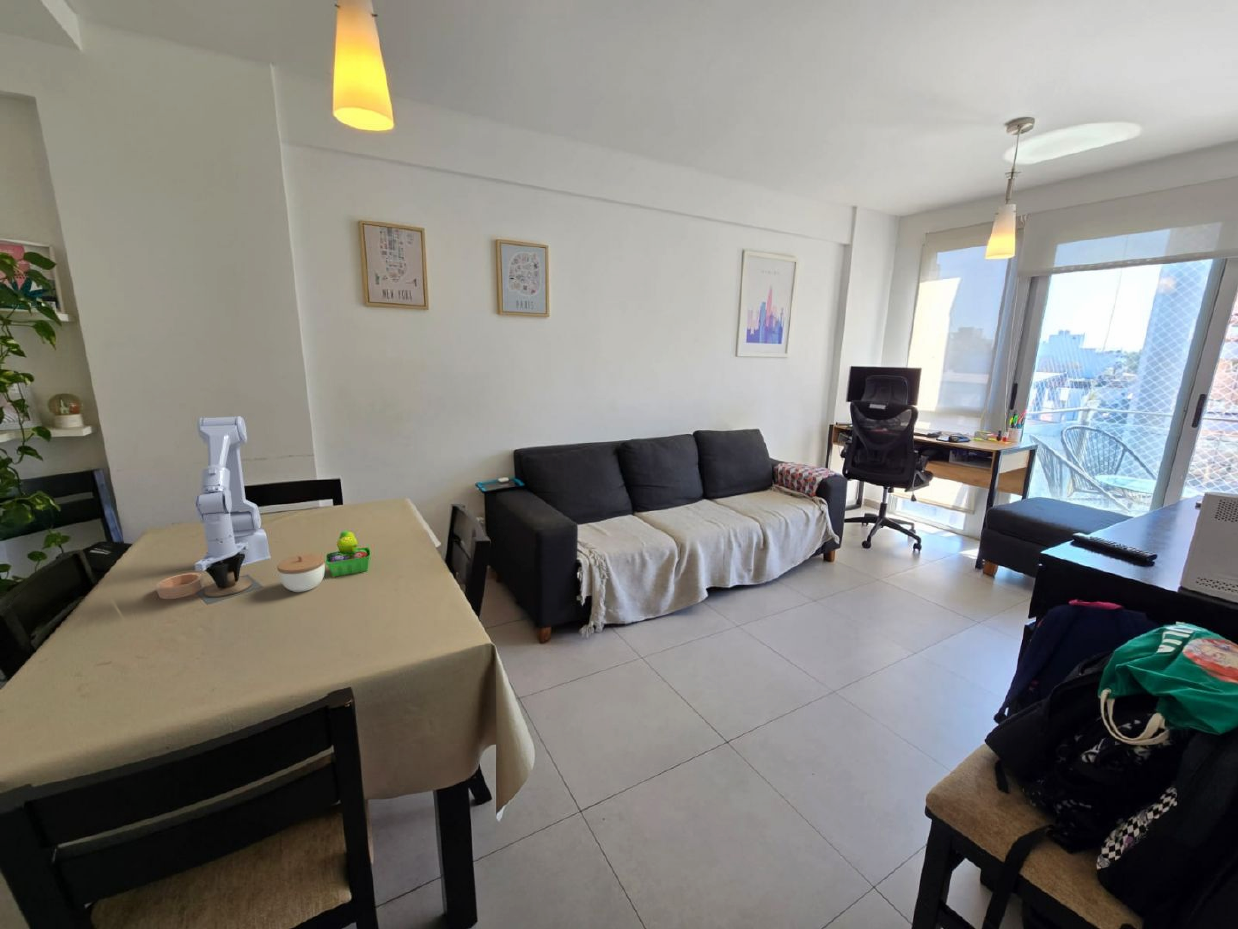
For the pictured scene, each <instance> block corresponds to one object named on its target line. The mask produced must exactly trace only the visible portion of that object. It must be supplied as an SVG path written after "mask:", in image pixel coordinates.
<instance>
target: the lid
mask: <svg viewBox="0 0 1238 929" xmlns="http://www.w3.org/2000/svg"><path fill="white" fill-rule="evenodd" d="M227 582H228V585H227V587H226V588H218V587H217V585H216V583H215V582H214V583H212V584H210V586H209V585H207V586H208V587H207V588H206V589H205V590H204V592H205V595H206V596H207V597H212V598H218V597H226V596H230V595H234V594H237V593H240V592H243V591H245V590H246V589H248V588H249V587H251V585H252V580H251V579H250V578H246V577H240V576H239V579H238V581H237V582H235V578H234V572H233V571H227Z"/></svg>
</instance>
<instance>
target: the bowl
mask: <svg viewBox="0 0 1238 929" xmlns="http://www.w3.org/2000/svg"><path fill="white" fill-rule="evenodd" d="M155 587H156V591H157V595H158V597H159V598H160V599H163V600H175V599H181V598H185V597H188V596H190V595H191V596H192V595H193V594H197V593H196V592H198V591H199V590H201V589H202V588H203V587H205V580H204V576H203V575H202V574H201V573H197V572H188V573H183V574H182V573H181V574H177V575H173V576H170V577H168V578H165V579H162V580H160V581H159V582H158V583H157V584H156V585H155Z"/></svg>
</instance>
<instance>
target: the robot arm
mask: <svg viewBox="0 0 1238 929" xmlns="http://www.w3.org/2000/svg"><path fill="white" fill-rule="evenodd" d="M196 427H197V432H198V435H199V438H201V440H202V441H203V443H204V444H206V445H207V467H205V468H204V469H202V472H201V473H202V474H201V484H200V491H199V492H200V493H199V494H200V495H197V496H196V497H195V502H194V503H195V510H196V513H197V515H198V518H199V522H200V523H202V525H203V530H204V536H205V542H206V547H207V551H206V552H205V554H206V555H205V556H204V557H202V558H201V559H200V560H199V561H197V562H195V563H194V570H195V571H196V572H197V571H198V572H206V573H207V574H208V575H209V576H210V577H211V578H212V580H213V581H214V583H216V585H217V587H218V588H226V587H227V585H228V582H227V571H233V572H234V578H235V582H237V581H238V579H239V577H240V571H241V568H242V567H243V566H245V565H250V564H253V563H257V562H260V561H264V560H267V559H271V558H272V556H271V554H270V548H269V541H268V537H267V533H266V531H265V530H264V528H261V526H262V519H261V514H260V511H259V506H258V505H257V504H256V503H254V502H251V501H250V500H248V499H246V492H245V490H246V489H245V482H244V476H243V475H244V474H243V467H242V458H241V446H242V445H245V444H247V442H248V435H247V428H246V423H245V420H244V418H243V417H242V416H240V415H238V416H223V417H222V416H221V417H219V416H218V417H199V419H198V421H197V426H196Z"/></svg>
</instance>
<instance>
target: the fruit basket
mask: <svg viewBox="0 0 1238 929" xmlns="http://www.w3.org/2000/svg"><path fill="white" fill-rule="evenodd" d="M358 544H359V543H358V540H357V539H356V537H355V534H354V533H353V532H351V531H349V530H344V531H342V532H341V533H340V535H339V539H338V540H337V542H336V546H337V547H338V551H334V552H329V553H327V554H326V557H325V565H326V566H327V567H328V569H329V571H330V574H331V576H332V577H333V578H334V577H339V576H346V575H350V574H352V575H353V574H357V573H358V574H359V573H362V572H368V570H369V565H370V559H371V555H372V554H371V546H370V547H369V546H368V547H367V546H366V547H360V548H358Z"/></svg>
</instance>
